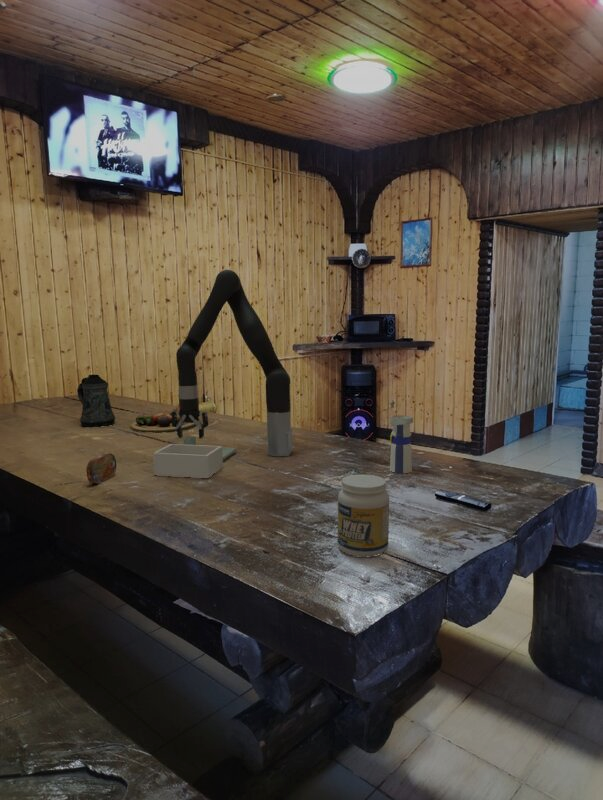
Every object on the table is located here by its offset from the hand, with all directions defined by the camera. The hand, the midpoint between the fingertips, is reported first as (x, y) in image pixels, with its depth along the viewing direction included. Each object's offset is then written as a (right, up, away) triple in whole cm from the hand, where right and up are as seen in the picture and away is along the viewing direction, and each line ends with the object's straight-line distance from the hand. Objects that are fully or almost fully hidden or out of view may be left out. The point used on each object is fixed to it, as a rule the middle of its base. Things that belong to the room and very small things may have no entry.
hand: (190, 437), depth 224 cm
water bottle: (+78, -10, -23) cm, 82 cm away
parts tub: (+3, -11, -21) cm, 24 cm away
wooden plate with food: (-24, +1, +59) cm, 64 cm away
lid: (+6, -8, 0) cm, 10 cm away
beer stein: (-60, +2, +63) cm, 87 cm away
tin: (-24, -13, -30) cm, 40 cm away
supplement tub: (+58, -21, -87) cm, 107 cm away
